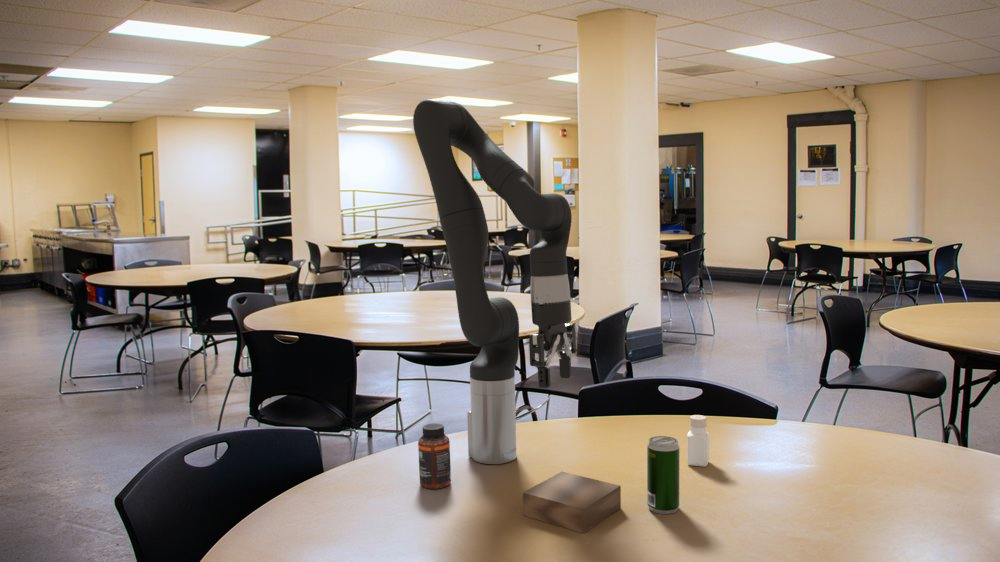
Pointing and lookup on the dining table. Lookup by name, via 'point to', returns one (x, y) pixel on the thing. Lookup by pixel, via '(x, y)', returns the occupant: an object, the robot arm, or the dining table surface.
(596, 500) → the walnut plinth
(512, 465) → the dining table surface
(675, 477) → the beer can
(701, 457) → the pepper shaker
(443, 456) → the supplement bottle
